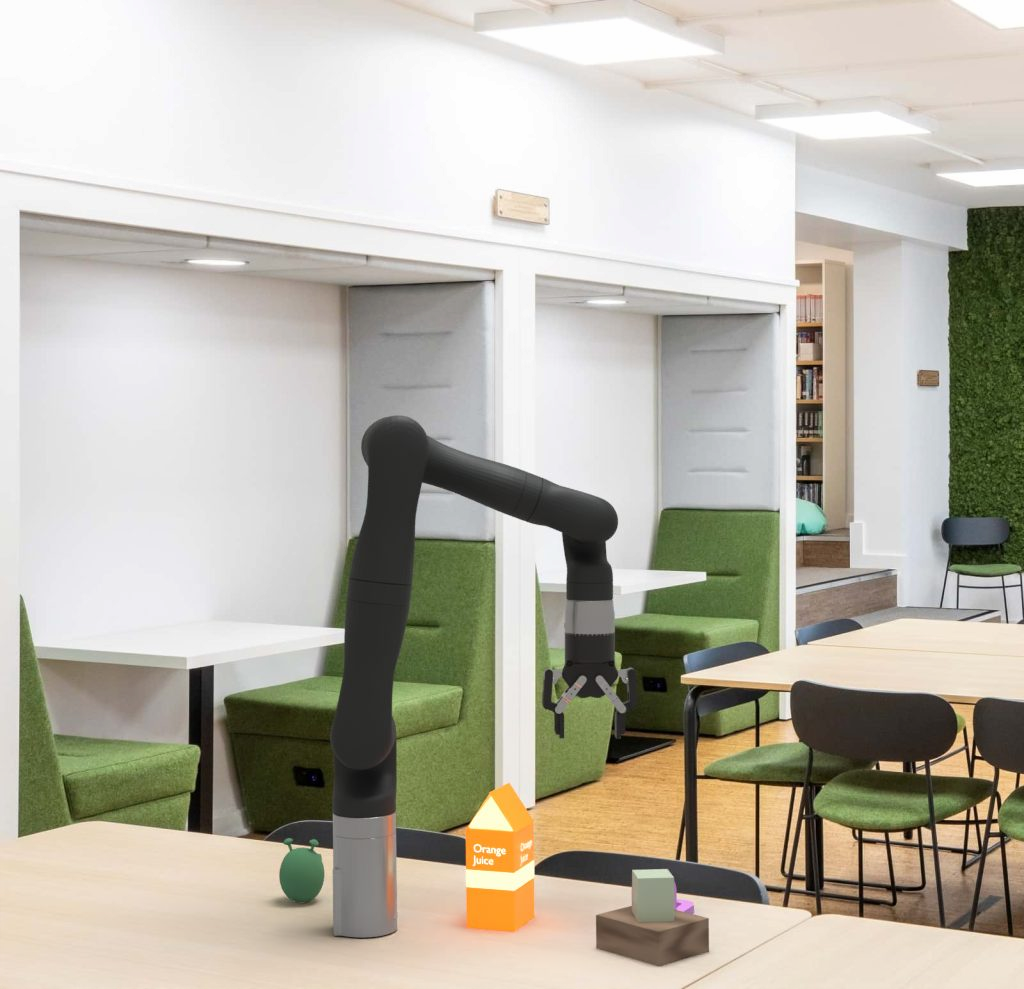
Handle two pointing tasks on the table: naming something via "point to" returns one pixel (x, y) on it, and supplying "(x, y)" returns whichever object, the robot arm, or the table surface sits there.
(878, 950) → the table surface
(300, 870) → the alien toy
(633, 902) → the sage block
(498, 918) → the orange juice
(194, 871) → the table surface
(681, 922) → the plate
